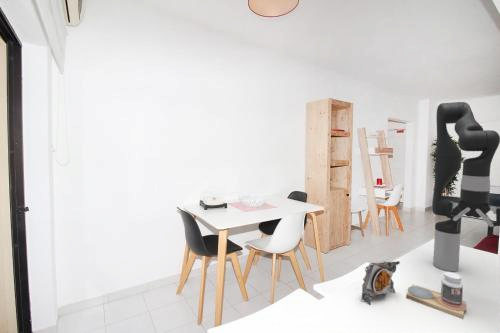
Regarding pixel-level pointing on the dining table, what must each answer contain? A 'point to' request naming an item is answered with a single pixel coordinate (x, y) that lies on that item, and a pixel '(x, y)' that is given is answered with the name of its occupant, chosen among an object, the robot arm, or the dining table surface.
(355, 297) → the dining table surface
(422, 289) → the grey pad
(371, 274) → the meal
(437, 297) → the terracotta pad
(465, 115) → the robot arm
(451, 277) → the pill bottle
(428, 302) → the board
